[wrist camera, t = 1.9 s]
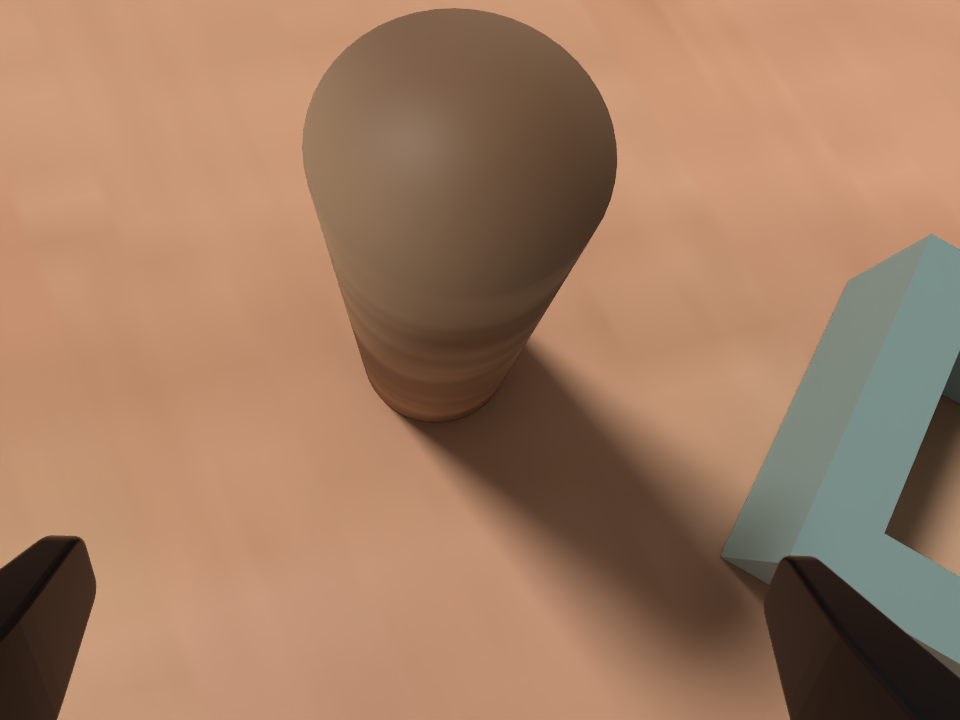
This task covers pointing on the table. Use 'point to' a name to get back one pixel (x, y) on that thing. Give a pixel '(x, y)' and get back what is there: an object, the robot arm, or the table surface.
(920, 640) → the socket block
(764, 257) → the table surface
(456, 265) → the peg
